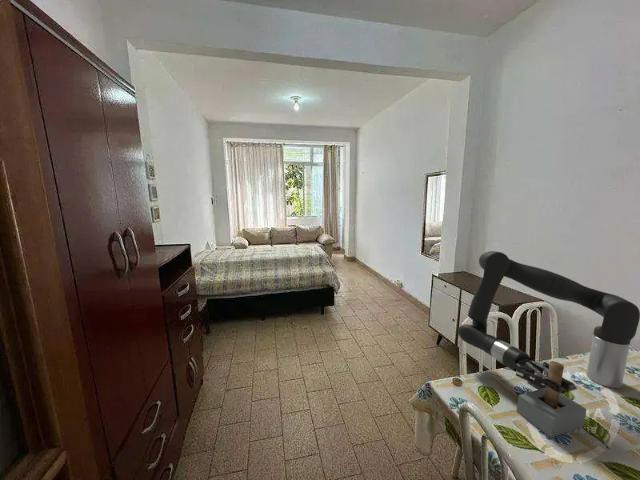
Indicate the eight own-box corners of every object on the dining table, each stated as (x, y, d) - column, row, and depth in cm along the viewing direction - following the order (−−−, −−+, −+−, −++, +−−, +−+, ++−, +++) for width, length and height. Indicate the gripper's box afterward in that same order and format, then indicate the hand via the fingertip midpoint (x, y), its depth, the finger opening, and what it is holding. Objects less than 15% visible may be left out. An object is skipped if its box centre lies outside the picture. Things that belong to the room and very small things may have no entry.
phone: (525, 380, 99) (552, 372, 104) (525, 382, 99) (552, 374, 104) (549, 394, 92) (576, 385, 96) (549, 397, 92) (576, 387, 97)
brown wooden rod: (548, 400, 84) (554, 360, 82) (559, 407, 81) (566, 366, 79) (541, 402, 83) (547, 362, 81) (552, 410, 80) (559, 368, 78)
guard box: (547, 402, 89) (549, 386, 88) (583, 426, 80) (586, 408, 79) (516, 411, 85) (518, 395, 84) (550, 437, 76) (553, 419, 75)
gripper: (495, 349, 92) (549, 381, 75) (525, 343, 96) (583, 373, 79) (493, 368, 93) (546, 404, 76) (522, 362, 97) (579, 395, 80)
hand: (564, 388), depth 78 cm, fingers closed on brown wooden rod, 3 cm apart
